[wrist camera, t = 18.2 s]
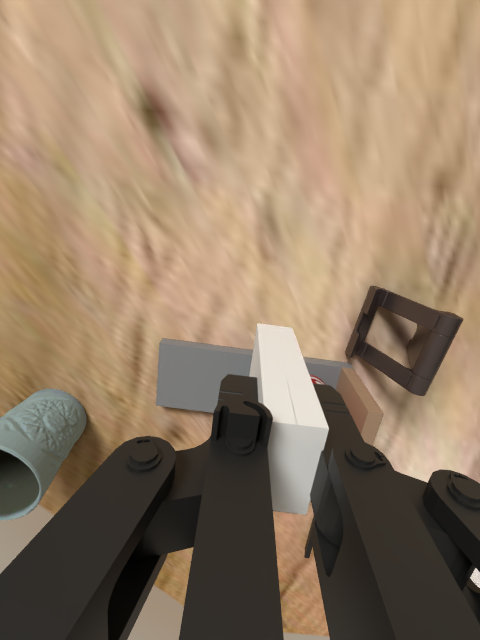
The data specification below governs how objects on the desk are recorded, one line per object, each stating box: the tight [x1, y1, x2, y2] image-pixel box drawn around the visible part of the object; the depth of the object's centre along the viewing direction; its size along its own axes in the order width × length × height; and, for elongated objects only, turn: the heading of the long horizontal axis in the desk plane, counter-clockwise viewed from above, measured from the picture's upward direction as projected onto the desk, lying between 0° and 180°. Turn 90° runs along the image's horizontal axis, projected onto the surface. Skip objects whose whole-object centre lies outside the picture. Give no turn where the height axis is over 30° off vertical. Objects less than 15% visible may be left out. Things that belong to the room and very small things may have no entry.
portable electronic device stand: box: [345, 286, 463, 396], centre depth 35 cm, size 9×8×8 cm
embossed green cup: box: [0, 389, 87, 520], centre depth 38 cm, size 10×10×12 cm
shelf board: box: [156, 338, 384, 446], centre depth 37 cm, size 24×9×10 cm, turn 82°
